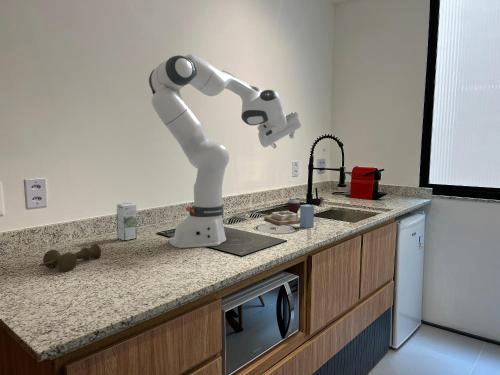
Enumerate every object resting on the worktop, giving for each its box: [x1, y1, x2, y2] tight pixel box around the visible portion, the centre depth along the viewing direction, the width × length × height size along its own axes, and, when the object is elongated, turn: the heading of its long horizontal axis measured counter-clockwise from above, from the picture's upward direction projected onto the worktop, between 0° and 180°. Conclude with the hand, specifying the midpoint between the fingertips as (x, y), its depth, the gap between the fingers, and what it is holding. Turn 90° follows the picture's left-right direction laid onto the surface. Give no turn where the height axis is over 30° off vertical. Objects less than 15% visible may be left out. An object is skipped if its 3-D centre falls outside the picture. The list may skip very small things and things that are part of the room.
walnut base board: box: [263, 210, 300, 226], centre depth 189 cm, size 15×15×4 cm
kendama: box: [38, 243, 102, 273], centre depth 120 cm, size 6×10×20 cm
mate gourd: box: [284, 187, 301, 214], centre depth 207 cm, size 8×8×15 cm
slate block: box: [299, 204, 315, 229], centre depth 176 cm, size 4×4×10 cm
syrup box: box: [116, 202, 138, 241], centre depth 152 cm, size 6×6×14 cm
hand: (283, 142), depth 178 cm, fingers open, 8 cm apart
